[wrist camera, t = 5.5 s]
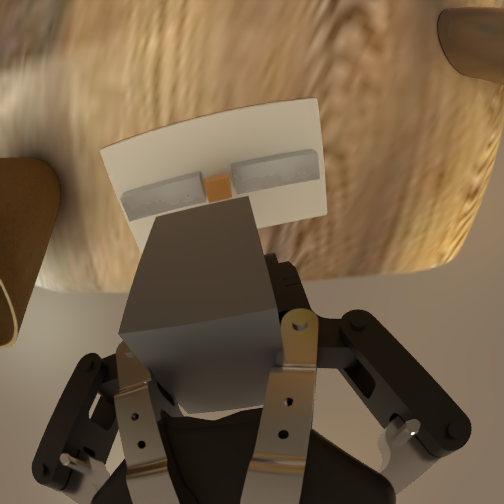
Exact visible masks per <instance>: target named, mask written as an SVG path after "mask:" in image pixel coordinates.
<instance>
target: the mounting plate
mask: <svg viewBox="0 0 504 504" xmlns="http://www.w3.org/2000/svg"><path fill="white" fill-rule="evenodd" d="M308 149H313V150H315V151H316V152H317V153H318V161H319V172H320V179H317V180H311V181H306V182H300V183H294V184H289V185H283V186H278V187H273V188H268V189H263V190H258V191H253V192H248V193H243V194H239V195H237V193H236V188H235V184H234V179H233V175H232V170H231V163H236V162H240V161H245V160H250V159H255V158H260V157H266V156H271V155H277V154H283V153H289V152H295V151H301V150H308ZM100 153H101V156H102V159H103V162H104V165H105V167H106V170H107V173H108V176H109V178H110V181H111V184H112V186H113V189H114V191H115V194H116V196H117V199H118V201H119V204H120V206H121V209H122V211H123V214H124V216H125V218H126V221H127V223H128V225H129V228H130V230H131V232H132V234H133V237H134V239H135V241H136V243H137V245H138V248H139V250H140V252H141V254H142V253H143V250H144V248H145V245H146V242H147V239H148V237H149V234H150V231H151V228H152V226H153V223H154V221H155V218H156V217H157V216H161V215H165V214H169V213H173V212H177V211H181V210H186V209H190V208H194V207H198V206H203V205H207V204H212V203H216V202H221V201H225V200H230V199H235V198H240V197H245V196H249V200H250V203H251V207H252V211H253V215H254V219H255V223H256V226H257V229H259V228H264V227H268V226H273V225H278V224H283V223H288V222H293V221H298V220H303V219H308V218H313V217H318V216H323V215H327V201H326V184H325V169H324V157H323V146H322V135H321V126H320V117H319V109H318V101H317V98H314V97H312V98H302V99H293V100H285V101H278V102H271V103H264V104H258V105H252V106H247V107H241V108H236V109H231V110H226V111H222V112H217V113H213V114H208V115H204V116H200V117H196V118H192V119H189V120H185V121H181V122H178V123H174V124H171V125H167V126H164V127H161V128H157V129H154V130H151V131H148V132H145V133H142V134H139V135H136V136H133V137H130V138H128V139H125V140H122V141H119V142H117V143H114V144H112V145H109V146H106V147H104V148H102V149H101V150H100ZM197 171H200V173H201V177H202V180H203V184H204V179H205V178H209V177H214V176H218V175H222V174H228V178H229V183H230V187H231V191H232V198H229V199H224V200H220V201H216V202H211V203H209V201H208V197H207V196H206V202H203V203H199V204H195V205H191V206H186V207H182V208H178V209H174V210H171V211H167V212H163V213H159V214H155V215H152V216H148V217H144V218H141V219H137V220H133V221H130V222H129V219H128V217H127V214H126V212H125V210H124V207H123V205H122V202H121V200H120V198H121V196H122V195H123V193H124V192H126V191H129V190H132V189H136V188H139V187H142V186H145V185H149V184H152V183H156V182H159V181H163V180H166V179H170V178H174V177H177V176H181V175H185V174H189V173H193V172H197ZM204 188H205V186H204ZM205 191H206V190H205ZM206 195H207V194H206Z"/></svg>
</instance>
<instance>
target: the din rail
mask: <svg viewBox="0 0 504 504" xmlns="http://www.w3.org/2000/svg"><path fill="white" fill-rule="evenodd" d="M231 170H232V175H233V179H234V184H235V188H236V193H237V195H239V194H243V193H248V192H253V191H258V190H263V189H268V188H273V187H278V186H283V185H289V184H294V183H300V182H306V181H311V180H317V179H320V172H319V161H318V153H317V152H316V151H315V150H313V149H308V150H301V151H295V152H289V153H283V154H277V155H271V156H266V157H260V158H255V159H250V160H245V161H240V162H236V163H231ZM206 196H207V195H206V191H205V188H204V184H203V180H202V177H201V173H200V171H197V172H193V173H189V174H185V175H181V176H177V177H174V178H170V179H166V180H163V181H159V182H156V183H152V184H149V185H145V186H142V187H139V188H136V189H132V190H129V191H126V192H124V193H123V195H122V196H121V198H120V200H121V202H122V205H123V207H124V210H125V212H126V214H127V217H128V219H129V222H130V221H133V220H137V219H141V218H144V217H148V216H152V215H155V214H159V213H163V212H167V211H171V210H174V209H178V208H182V207H186V206H191V205H195V204H199V203H203V202H206Z"/></svg>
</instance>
